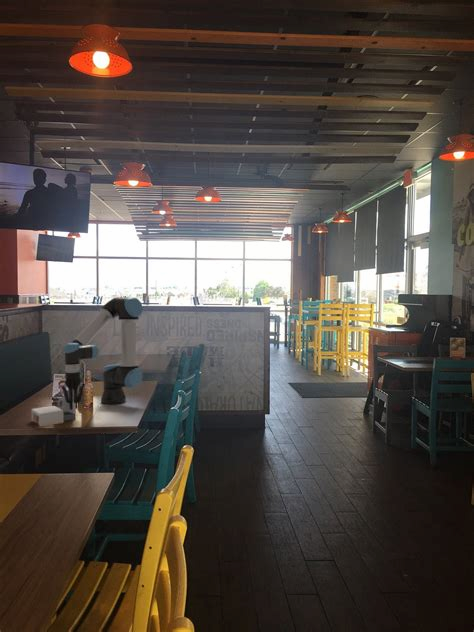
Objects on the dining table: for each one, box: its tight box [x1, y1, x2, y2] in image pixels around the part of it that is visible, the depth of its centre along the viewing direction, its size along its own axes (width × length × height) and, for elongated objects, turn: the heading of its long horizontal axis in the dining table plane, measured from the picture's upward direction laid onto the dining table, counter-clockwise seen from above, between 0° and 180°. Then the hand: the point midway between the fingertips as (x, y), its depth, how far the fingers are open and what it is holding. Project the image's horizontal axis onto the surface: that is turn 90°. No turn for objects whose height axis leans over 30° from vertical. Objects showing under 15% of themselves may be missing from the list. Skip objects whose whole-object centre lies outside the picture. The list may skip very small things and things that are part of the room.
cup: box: [57, 394, 74, 412], centre depth 296 cm, size 7×10×9 cm
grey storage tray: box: [63, 411, 77, 422], centre depth 278 cm, size 14×10×3 cm
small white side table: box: [31, 405, 65, 427], centre depth 274 cm, size 12×14×6 cm
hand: (73, 415), depth 282 cm, fingers closed
